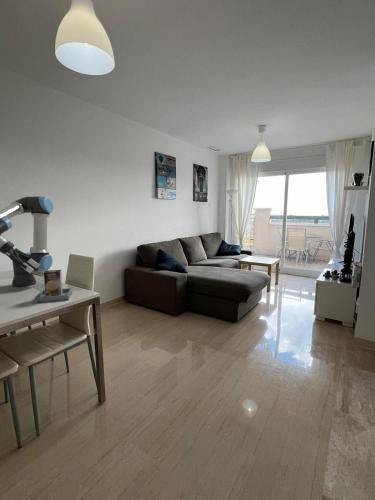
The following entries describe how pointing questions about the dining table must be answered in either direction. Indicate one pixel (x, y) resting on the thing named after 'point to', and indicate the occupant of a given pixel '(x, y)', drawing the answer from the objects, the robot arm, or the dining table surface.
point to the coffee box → (53, 283)
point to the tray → (64, 296)
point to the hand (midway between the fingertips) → (35, 269)
